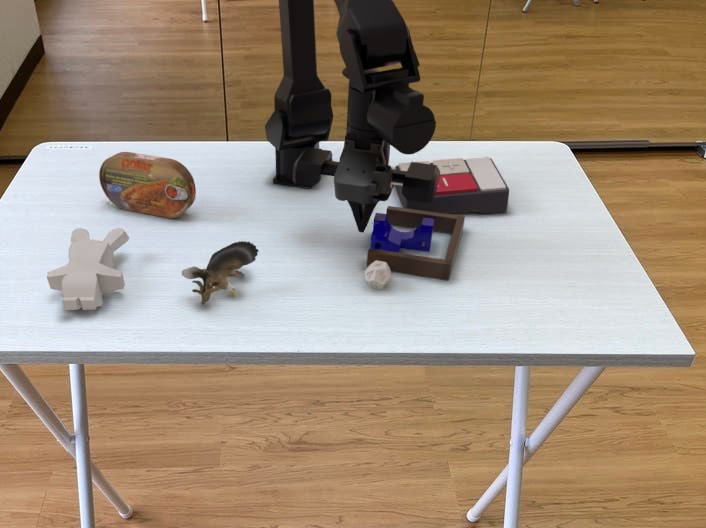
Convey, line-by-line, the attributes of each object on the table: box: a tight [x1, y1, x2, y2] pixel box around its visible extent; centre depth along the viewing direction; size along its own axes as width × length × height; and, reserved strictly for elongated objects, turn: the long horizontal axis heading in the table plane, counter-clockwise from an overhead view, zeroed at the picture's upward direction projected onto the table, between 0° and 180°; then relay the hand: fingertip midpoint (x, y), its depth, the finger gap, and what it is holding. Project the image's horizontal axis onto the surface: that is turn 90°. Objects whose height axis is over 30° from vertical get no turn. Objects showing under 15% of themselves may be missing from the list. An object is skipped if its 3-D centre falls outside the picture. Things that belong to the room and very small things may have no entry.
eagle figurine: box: [180, 240, 260, 306], centre depth 98 cm, size 8×7×9 cm
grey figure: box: [46, 227, 130, 311], centre depth 100 cm, size 10×5×15 cm
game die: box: [363, 260, 393, 290], centre depth 100 cm, size 4×4×3 cm
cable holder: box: [370, 212, 434, 253], centre depth 106 cm, size 8×4×4 cm, turn 77°
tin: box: [98, 151, 197, 219], centre depth 114 cm, size 15×3×8 cm, turn 68°
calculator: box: [394, 156, 510, 215], centre depth 117 cm, size 11×4×15 cm
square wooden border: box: [366, 205, 466, 282], centre depth 106 cm, size 11×13×2 cm
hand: (362, 231), depth 108 cm, fingers closed
